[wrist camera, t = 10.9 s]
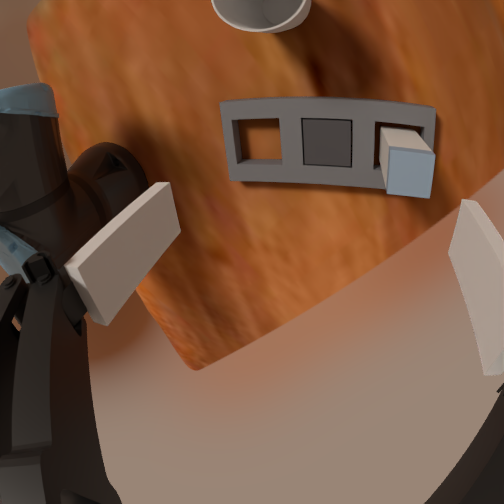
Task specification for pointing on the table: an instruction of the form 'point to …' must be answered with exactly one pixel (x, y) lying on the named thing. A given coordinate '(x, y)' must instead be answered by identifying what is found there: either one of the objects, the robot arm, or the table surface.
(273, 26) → the cup
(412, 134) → the plug
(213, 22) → the table surface
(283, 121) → the panel
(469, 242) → the robot arm
